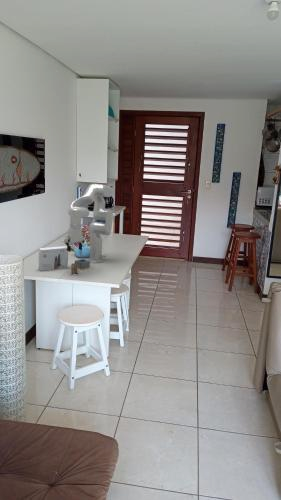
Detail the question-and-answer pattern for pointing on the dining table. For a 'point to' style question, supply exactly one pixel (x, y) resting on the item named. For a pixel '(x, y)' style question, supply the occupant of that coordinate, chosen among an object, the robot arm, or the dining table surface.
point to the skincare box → (53, 258)
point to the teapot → (82, 251)
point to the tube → (83, 264)
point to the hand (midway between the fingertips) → (74, 250)
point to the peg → (74, 268)
